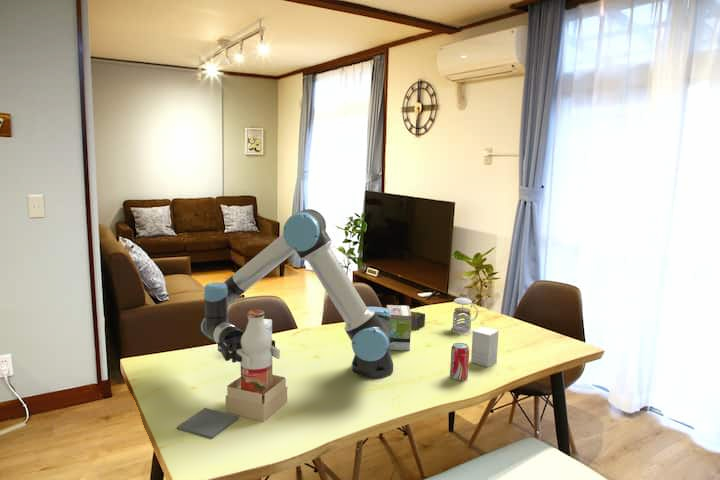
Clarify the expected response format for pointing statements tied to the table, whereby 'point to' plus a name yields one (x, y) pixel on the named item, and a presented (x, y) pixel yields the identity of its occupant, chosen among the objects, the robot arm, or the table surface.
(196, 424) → the coaster
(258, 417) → the carton
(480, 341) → the supplement box
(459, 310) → the french press
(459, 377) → the soda can
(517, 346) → the table surface
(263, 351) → the fruit juice
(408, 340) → the tea box
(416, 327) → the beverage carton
